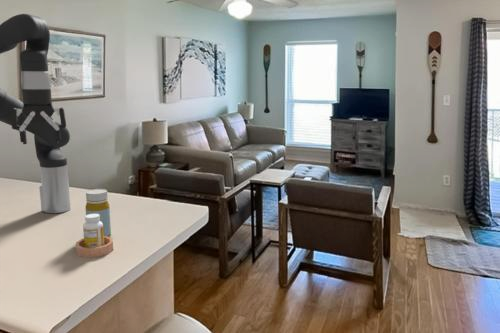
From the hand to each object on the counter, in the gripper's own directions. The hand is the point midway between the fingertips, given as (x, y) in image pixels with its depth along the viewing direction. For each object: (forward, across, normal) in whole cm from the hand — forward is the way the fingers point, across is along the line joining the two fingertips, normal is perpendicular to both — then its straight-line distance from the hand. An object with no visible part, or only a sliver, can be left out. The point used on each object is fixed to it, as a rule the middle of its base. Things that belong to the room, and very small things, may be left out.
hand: (41, 143), depth 129 cm
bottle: (+30, +14, -3) cm, 34 cm away
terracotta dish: (+30, +13, -13) cm, 35 cm away
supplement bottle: (+30, +13, -13) cm, 35 cm away
